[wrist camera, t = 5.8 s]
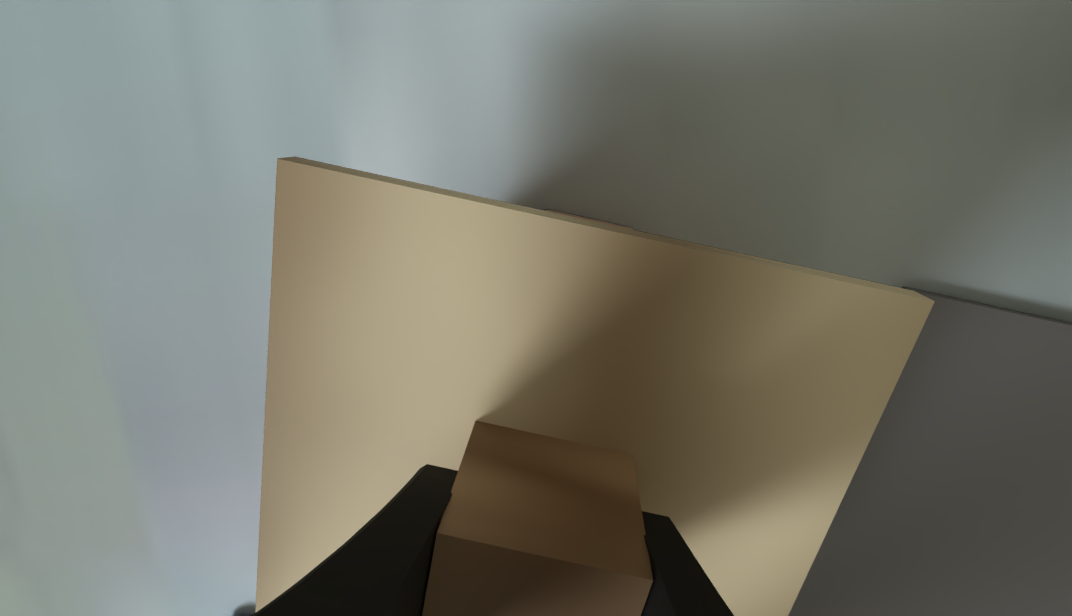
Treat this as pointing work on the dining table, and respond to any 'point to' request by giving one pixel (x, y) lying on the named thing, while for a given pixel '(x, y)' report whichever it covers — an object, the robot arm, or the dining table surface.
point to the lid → (558, 396)
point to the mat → (961, 479)
